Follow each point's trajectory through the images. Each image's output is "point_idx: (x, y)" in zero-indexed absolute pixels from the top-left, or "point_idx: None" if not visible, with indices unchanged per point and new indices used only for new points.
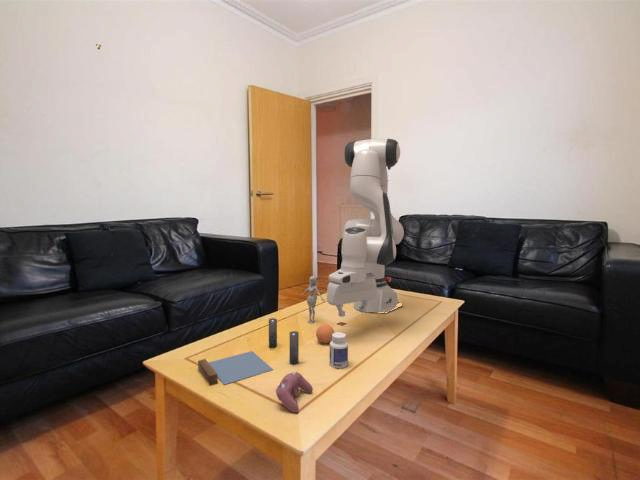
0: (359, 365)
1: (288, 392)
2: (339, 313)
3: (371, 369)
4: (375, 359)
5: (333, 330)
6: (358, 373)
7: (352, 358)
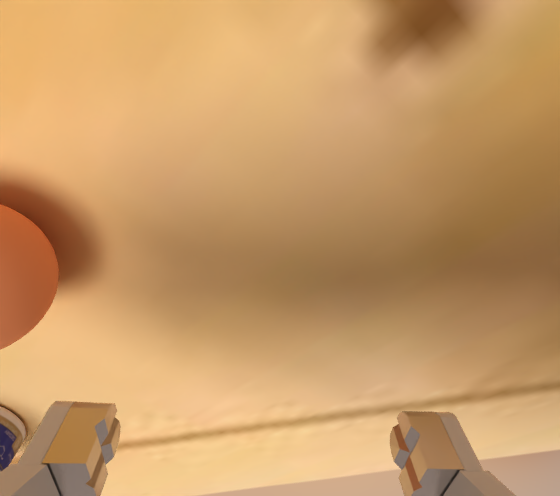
0: None
1: None
2: (41, 442)
3: None
4: (162, 460)
5: (17, 338)
6: None
7: None
